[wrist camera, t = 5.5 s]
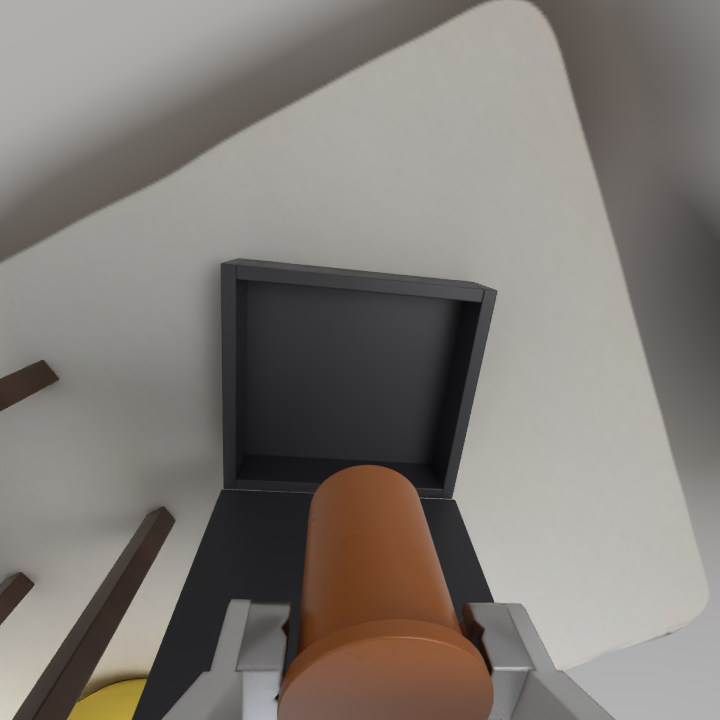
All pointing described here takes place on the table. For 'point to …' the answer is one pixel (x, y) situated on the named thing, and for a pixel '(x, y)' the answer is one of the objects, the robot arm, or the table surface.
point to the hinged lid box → (346, 374)
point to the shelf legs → (105, 610)
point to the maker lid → (272, 580)
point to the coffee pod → (378, 613)
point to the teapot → (110, 702)
